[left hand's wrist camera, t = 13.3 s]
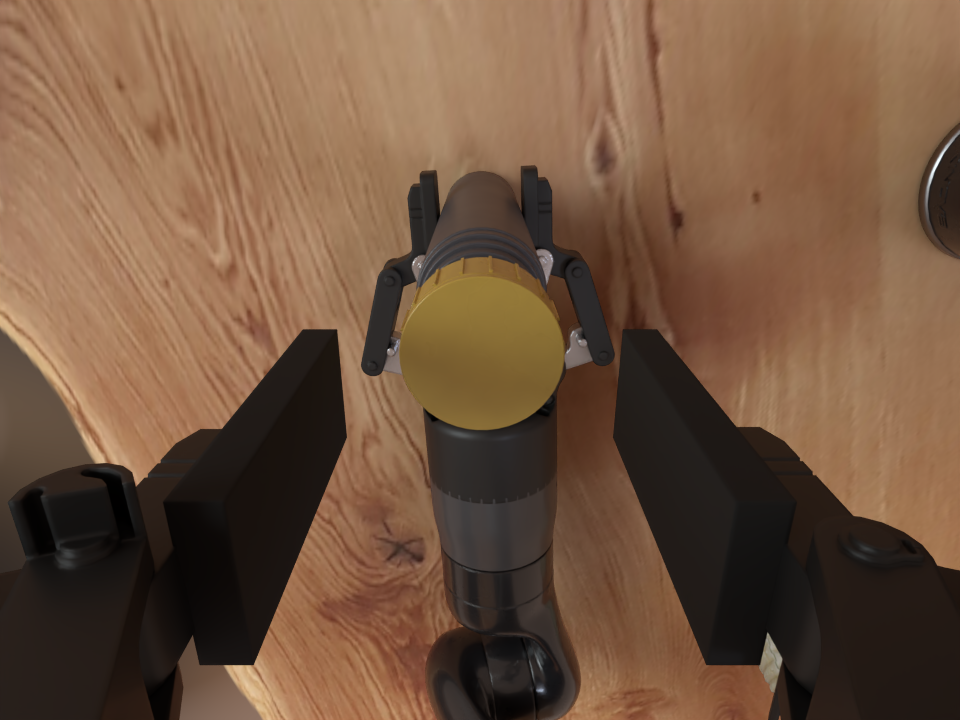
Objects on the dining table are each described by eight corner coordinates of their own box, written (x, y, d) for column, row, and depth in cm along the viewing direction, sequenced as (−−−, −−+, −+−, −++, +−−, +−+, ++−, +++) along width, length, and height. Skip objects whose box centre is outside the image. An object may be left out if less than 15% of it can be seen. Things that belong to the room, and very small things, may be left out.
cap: (383, 362, 17) (371, 393, 15) (445, 227, 16) (440, 243, 14) (514, 419, 18) (517, 456, 16) (584, 295, 16) (597, 319, 15)
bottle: (434, 224, 37) (369, 387, 16) (464, 158, 36) (439, 236, 14) (497, 255, 38) (518, 451, 16) (529, 191, 37) (599, 313, 15)
